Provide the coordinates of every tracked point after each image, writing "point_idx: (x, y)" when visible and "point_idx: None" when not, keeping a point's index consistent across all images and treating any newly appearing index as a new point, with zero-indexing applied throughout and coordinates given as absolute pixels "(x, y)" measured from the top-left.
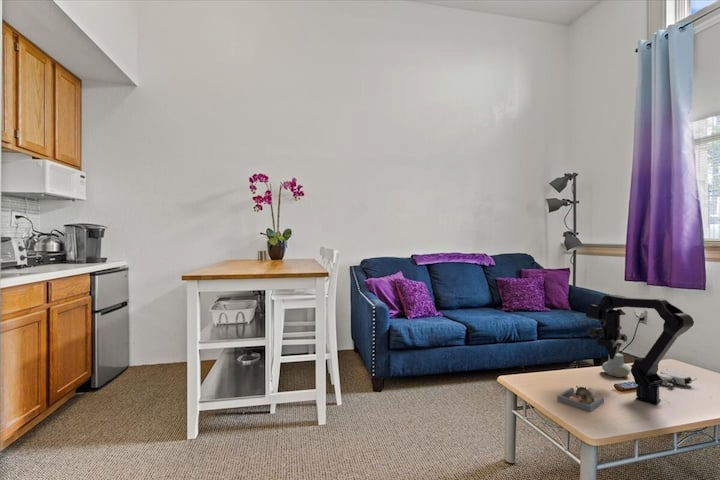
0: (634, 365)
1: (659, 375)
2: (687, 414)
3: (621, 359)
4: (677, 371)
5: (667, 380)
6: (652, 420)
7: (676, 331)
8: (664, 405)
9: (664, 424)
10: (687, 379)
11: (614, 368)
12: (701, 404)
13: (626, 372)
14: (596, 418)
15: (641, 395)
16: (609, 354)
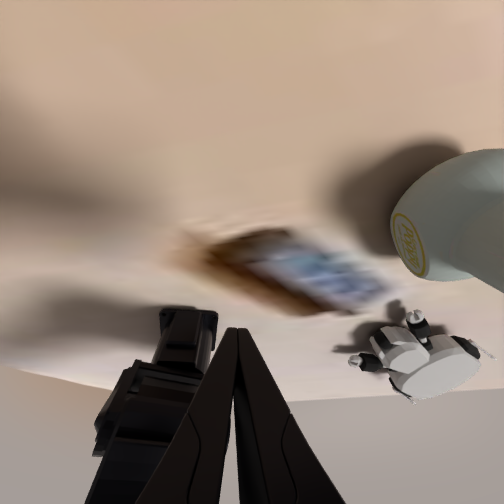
0: (98, 470)
1: (404, 353)
2: None
3: (494, 287)
4: (466, 380)
5: (380, 359)
6: (27, 352)
7: None
8: None
9: (34, 368)
10: (401, 392)
11: (416, 231)
12: None
13: (412, 267)
14: None
15: (165, 330)
16: (206, 377)
